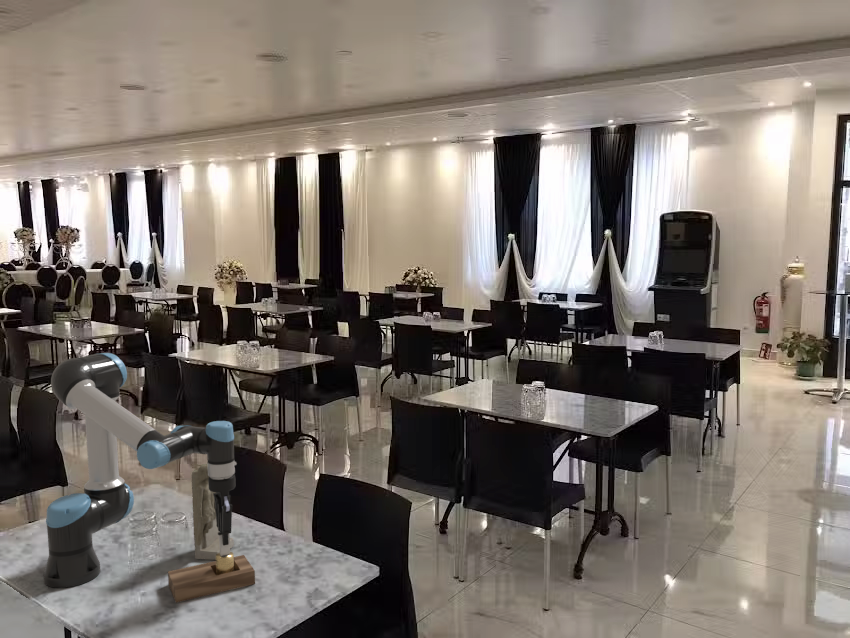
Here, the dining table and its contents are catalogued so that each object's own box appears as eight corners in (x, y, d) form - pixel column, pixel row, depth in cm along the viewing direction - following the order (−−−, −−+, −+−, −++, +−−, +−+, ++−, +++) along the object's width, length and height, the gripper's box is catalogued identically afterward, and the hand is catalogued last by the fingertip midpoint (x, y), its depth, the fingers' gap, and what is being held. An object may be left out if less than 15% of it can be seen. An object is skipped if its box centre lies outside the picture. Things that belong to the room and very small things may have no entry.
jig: (168, 584, 203) (167, 571, 203) (244, 567, 214) (243, 554, 213) (175, 602, 193) (175, 589, 192) (255, 583, 203) (254, 570, 203)
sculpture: (213, 564, 216) (209, 469, 213) (189, 562, 217) (185, 468, 214) (235, 544, 230) (232, 455, 227) (213, 542, 232) (209, 454, 229)
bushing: (215, 579, 206) (214, 553, 205) (232, 575, 208) (231, 549, 207) (218, 586, 202) (217, 560, 201) (236, 582, 204) (235, 556, 203)
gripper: (240, 479, 198) (243, 559, 200) (229, 467, 209) (232, 543, 212) (213, 484, 194) (216, 565, 197) (203, 471, 206) (206, 548, 208)
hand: (224, 553), depth 204 cm, fingers closed
